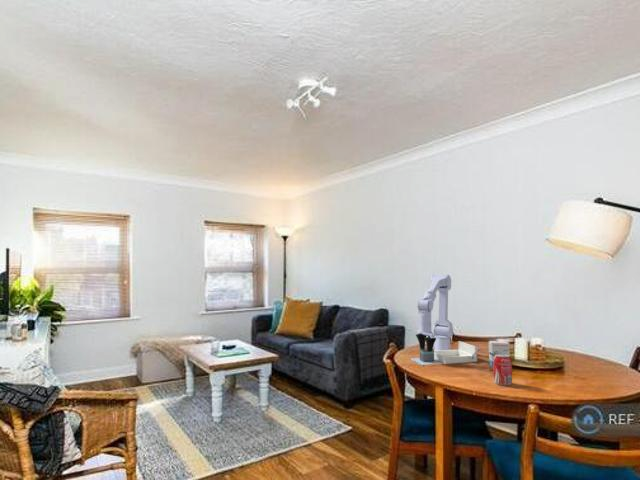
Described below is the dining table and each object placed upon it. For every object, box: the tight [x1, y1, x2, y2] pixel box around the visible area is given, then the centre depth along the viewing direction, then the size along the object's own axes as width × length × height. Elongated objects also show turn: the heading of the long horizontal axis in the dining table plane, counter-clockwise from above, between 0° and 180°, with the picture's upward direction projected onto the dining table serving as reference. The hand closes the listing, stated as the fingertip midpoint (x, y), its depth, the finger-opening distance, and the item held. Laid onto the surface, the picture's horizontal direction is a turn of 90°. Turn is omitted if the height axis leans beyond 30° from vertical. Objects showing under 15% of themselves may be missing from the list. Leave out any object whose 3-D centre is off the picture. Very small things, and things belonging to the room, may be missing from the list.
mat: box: [410, 357, 443, 367], centre depth 202 cm, size 13×11×1 cm
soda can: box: [492, 354, 513, 387], centre depth 166 cm, size 7×7×12 cm
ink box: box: [488, 340, 511, 367], centre depth 194 cm, size 9×5×12 cm, turn 84°
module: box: [418, 347, 435, 362], centre depth 202 cm, size 4×6×6 cm
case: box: [434, 340, 480, 365], centre depth 205 cm, size 17×18×8 cm
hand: (426, 349), depth 202 cm, fingers open, 7 cm apart
